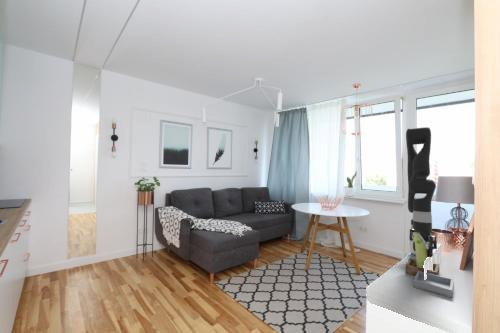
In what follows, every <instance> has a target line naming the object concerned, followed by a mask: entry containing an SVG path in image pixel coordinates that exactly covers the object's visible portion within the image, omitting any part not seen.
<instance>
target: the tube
mask: <svg viewBox="0 0 500 333" xmlns="http://www.w3.org/2000/svg"><path fill="white" fill-rule="evenodd" d="M413 235H414V241H415V250H416V255H415V259H416V263H417V267H419V268H423V265H424V261H425V260H426V258H427V247H426V245H425V244H424V243H423V242H422V241H421V238H420V236H419V235H420V233H416V232H413ZM430 235H431V236H433V233H430ZM427 242H429V241H427ZM428 245H429V244H428ZM429 246H430V245H429Z"/></svg>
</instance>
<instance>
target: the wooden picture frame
mask: <svg viewBox="0 0 500 333" xmlns="http://www.w3.org/2000/svg"><path fill="white" fill-rule="evenodd" d="M433 263H434V262H433ZM418 271H421V272H424V268H419V267H417V263H416V258H412V257H409V259H408V261H406V264H405V274H406V275H410V276H411V275H412V276H414V277H415V276H416V274H417V272H418ZM427 273H430V274H434V275H438V276H440V264H439V263H436V262H435V263H434V264H433V271H432V270H427Z"/></svg>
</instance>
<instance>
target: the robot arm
mask: <svg viewBox="0 0 500 333" xmlns="http://www.w3.org/2000/svg"><path fill="white" fill-rule="evenodd" d="M405 139H406V140H405V141H406V151H407V184H408V185H407V187H408V188H407V189H408V190H407V210H408V211H409V213H412V219H411V220H410V229H409V238H408V239H409V252H410V254H412V255H414V256H416V250H415V241H414V235H413V232H416V233H420V235H419V236H420V238H421V241H422V242H423V243H424V244H425V245H426V247H427V257H430V258H432V257H433V256H434V255H433V254H434V253H433V251H434V250H437V249H438V246H437V245H438V243H437V236H436V235H432V236H431V235H430V234H431V232H432V231H433V217H432V216H433V215H432V200H433V197H434V193H435V191H436V187H437V185H436V182H435V181H434V179H428V177H429V176H430V175H431V170H430V169H431V166H430V155H431V145H432V144H431V143H432V131H431V128H430V127H429V126H420V127H411V128H407V129H406V132H405ZM414 145H423V146H422V148H421V149H420V150H419V152H418V153H417V151H416V149H415V147H414ZM416 194H418V195H419V194H420V195H421V194H422V195H423V194H424V195H425V196H423V197H415V196H416ZM427 241H429V242H427ZM428 244H429V245H430V246H429V245H428Z"/></svg>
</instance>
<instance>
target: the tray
mask: <svg viewBox="0 0 500 333" xmlns="http://www.w3.org/2000/svg"><path fill="white" fill-rule="evenodd" d="M426 274H427V279H426V280H424V272H421V271H418V272H417V274H416V276H414V278H413V288H414V289H419V290H421V291H426V292H429V293H432V294H436V295H441V296H443V297H448V298H449V299H450V298H451V299H453V296H454V284H455V282H454V278H451V277H446V276H442V275H439V276H438V275H434V274H430V273H426Z"/></svg>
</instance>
